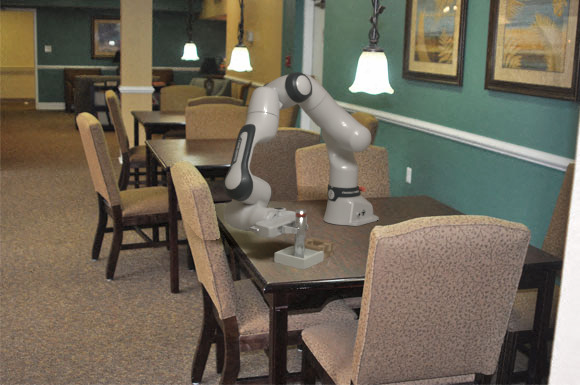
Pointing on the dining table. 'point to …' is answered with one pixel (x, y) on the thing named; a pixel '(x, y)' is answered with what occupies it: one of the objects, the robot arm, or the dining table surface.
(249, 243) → the dining table surface
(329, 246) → the wooden square frame
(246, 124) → the robot arm
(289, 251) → the tray
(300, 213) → the cylinder
